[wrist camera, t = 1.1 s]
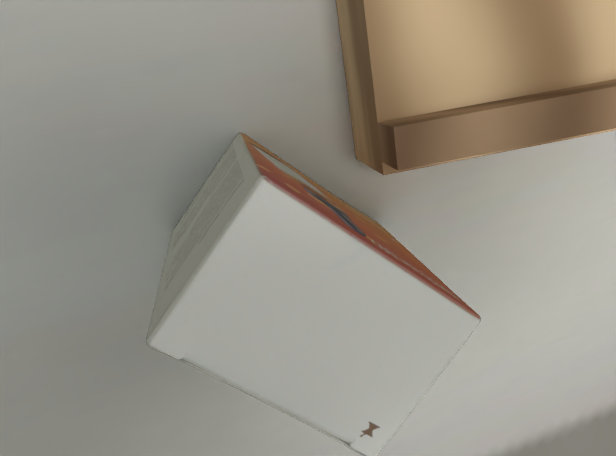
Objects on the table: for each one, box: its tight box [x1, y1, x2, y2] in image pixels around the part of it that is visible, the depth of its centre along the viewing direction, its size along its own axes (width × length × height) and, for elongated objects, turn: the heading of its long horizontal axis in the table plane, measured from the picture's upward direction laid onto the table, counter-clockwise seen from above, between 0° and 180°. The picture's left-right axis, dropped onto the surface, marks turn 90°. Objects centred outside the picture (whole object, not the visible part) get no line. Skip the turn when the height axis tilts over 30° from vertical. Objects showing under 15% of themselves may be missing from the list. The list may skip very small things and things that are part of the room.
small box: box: [146, 133, 481, 456], centre depth 20 cm, size 8×6×10 cm
